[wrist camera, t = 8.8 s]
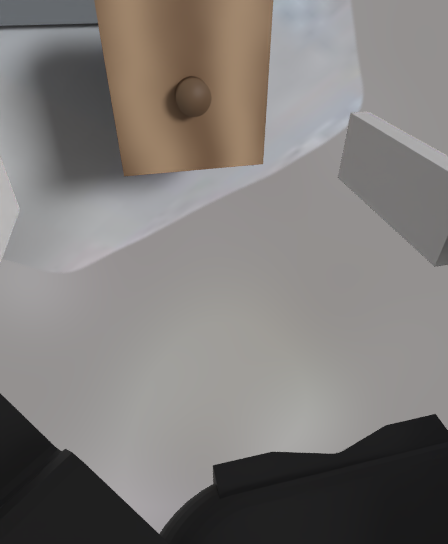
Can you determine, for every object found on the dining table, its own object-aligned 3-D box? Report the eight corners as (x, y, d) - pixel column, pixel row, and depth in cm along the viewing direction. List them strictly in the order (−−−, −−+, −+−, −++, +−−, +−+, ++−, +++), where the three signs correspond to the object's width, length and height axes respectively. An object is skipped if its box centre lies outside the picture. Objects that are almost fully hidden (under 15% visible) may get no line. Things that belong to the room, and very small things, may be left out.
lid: (123, 156, 33) (124, 181, 29) (96, -4, 26) (93, 1, 22) (249, 146, 34) (266, 168, 31) (255, -6, 28) (278, -2, 24)
